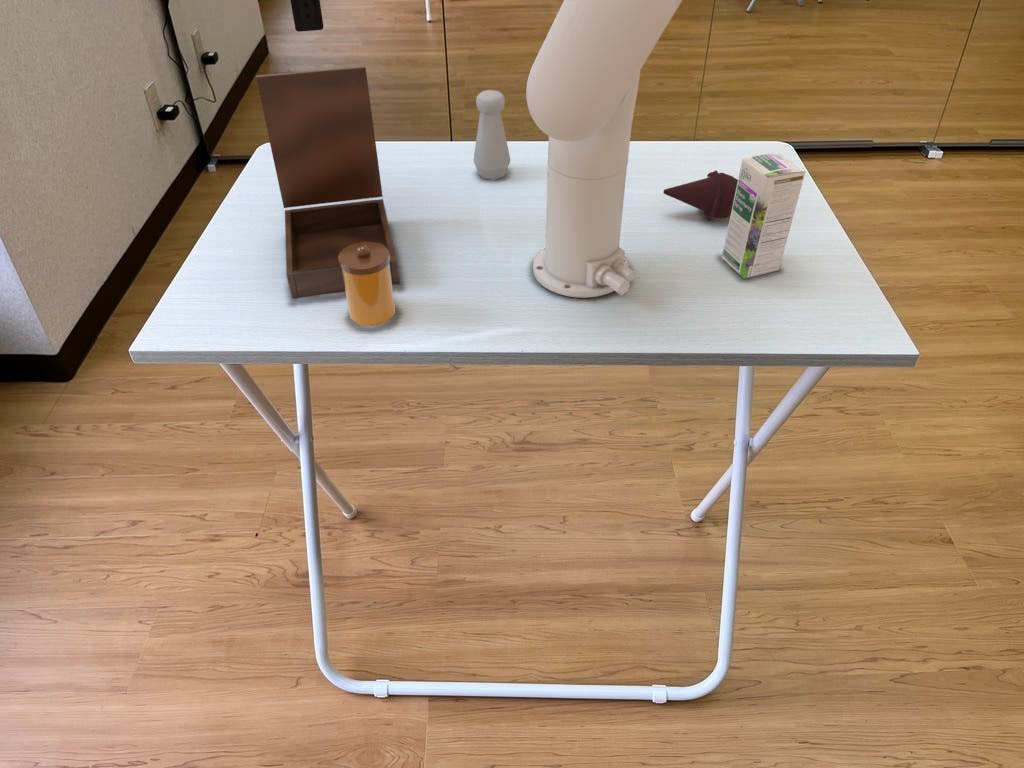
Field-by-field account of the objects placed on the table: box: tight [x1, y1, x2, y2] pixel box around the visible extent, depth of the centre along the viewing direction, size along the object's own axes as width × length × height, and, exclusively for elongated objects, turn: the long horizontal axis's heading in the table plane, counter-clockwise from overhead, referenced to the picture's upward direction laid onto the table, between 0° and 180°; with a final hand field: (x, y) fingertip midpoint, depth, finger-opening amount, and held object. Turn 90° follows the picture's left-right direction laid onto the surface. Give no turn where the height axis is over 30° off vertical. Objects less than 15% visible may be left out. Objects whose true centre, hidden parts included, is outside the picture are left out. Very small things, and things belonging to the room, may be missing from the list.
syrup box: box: [721, 152, 806, 280], centre depth 99 cm, size 6×6×14 cm
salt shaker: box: [473, 89, 511, 181], centre depth 120 cm, size 6×6×13 cm
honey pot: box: [338, 242, 396, 327], centre depth 93 cm, size 6×6×10 cm
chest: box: [284, 198, 401, 299], centre depth 104 cm, size 17×14×4 cm
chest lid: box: [255, 65, 383, 209], centre depth 103 cm, size 17×14×1 cm
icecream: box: [662, 169, 738, 221], centre depth 112 cm, size 7×7×15 cm
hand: (307, 17), depth 93 cm, fingers open, 9 cm apart
